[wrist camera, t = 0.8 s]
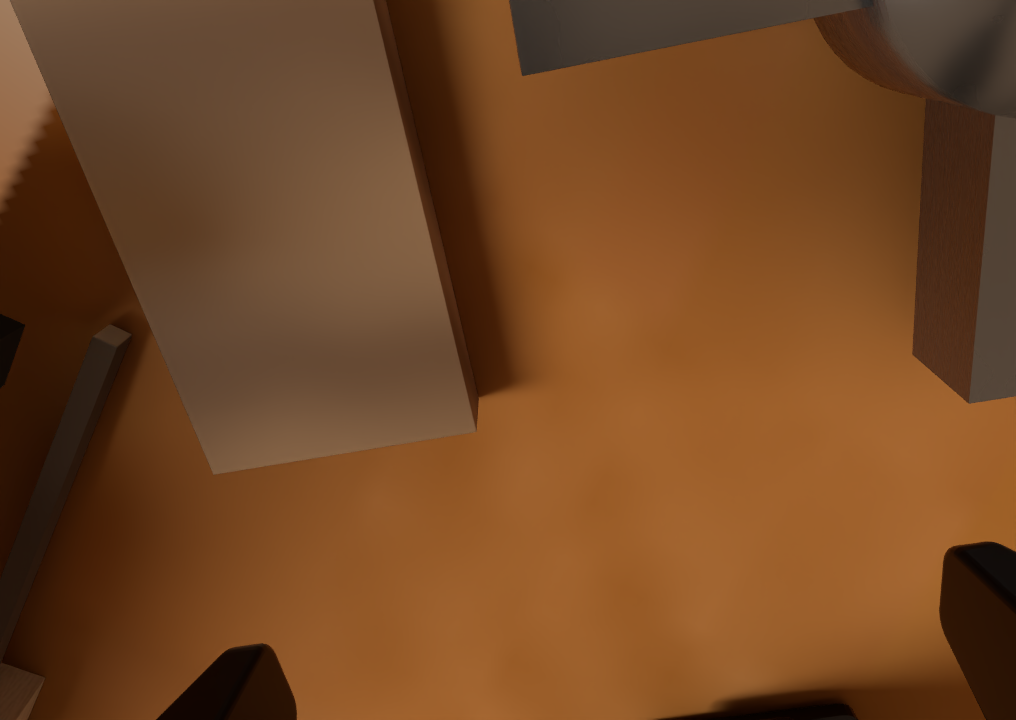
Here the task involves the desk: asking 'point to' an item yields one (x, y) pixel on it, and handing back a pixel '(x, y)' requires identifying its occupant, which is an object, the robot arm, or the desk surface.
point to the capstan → (946, 151)
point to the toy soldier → (49, 494)
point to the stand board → (267, 216)
